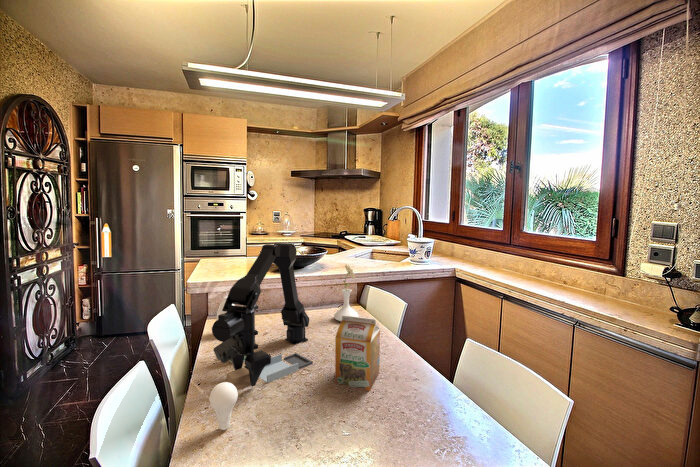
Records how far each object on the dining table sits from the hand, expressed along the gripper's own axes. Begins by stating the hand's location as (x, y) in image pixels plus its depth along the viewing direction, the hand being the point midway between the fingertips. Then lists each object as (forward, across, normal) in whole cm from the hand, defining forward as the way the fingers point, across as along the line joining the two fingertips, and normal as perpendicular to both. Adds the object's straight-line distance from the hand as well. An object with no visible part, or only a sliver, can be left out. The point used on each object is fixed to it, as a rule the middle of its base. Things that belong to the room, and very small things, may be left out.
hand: (245, 380), depth 99 cm
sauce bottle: (+1, -39, +14) cm, 41 cm away
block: (+1, 0, -1) cm, 2 cm away
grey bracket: (+1, 0, +10) cm, 10 cm away
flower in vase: (+1, -19, +60) cm, 63 cm away
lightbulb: (+1, +15, -14) cm, 20 cm away
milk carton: (+1, +21, +26) cm, 33 cm away
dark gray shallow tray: (+1, 0, +19) cm, 19 cm away
